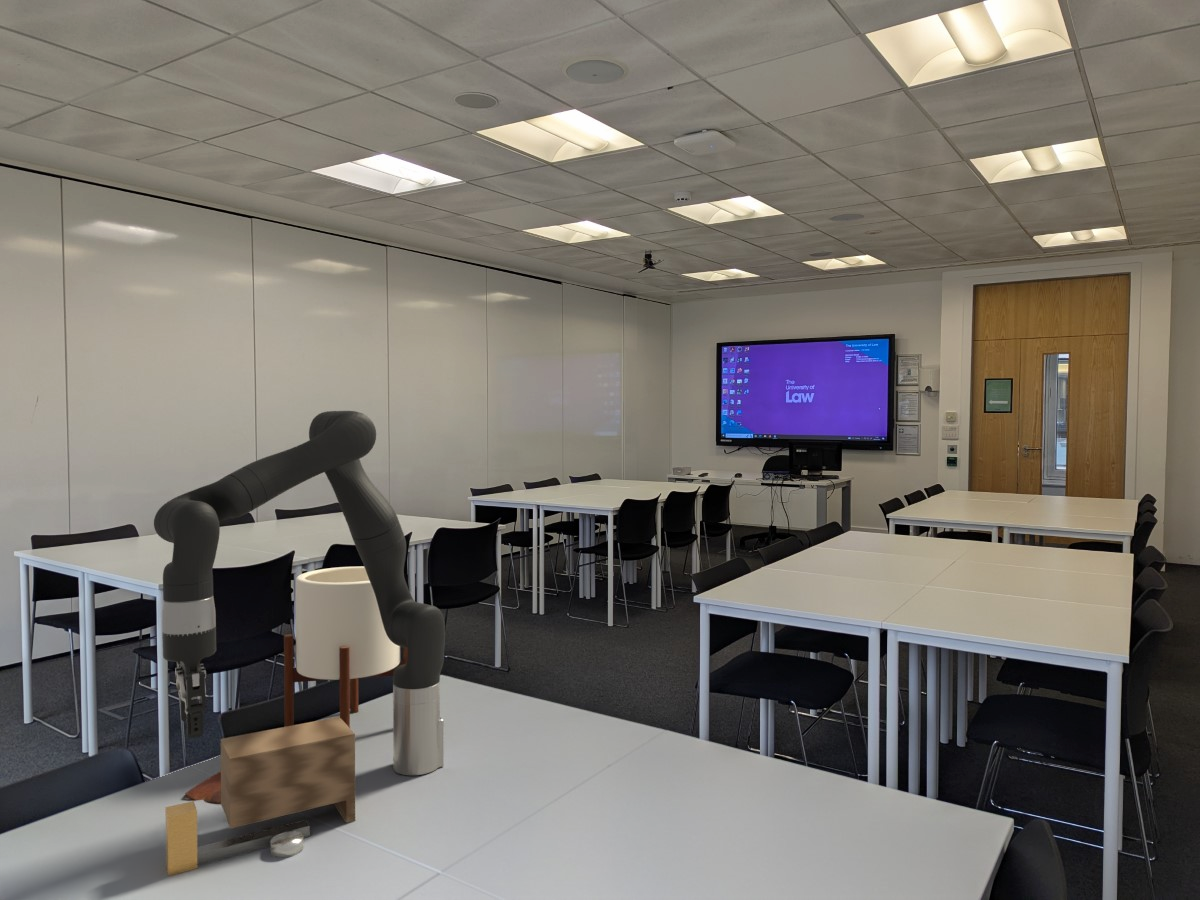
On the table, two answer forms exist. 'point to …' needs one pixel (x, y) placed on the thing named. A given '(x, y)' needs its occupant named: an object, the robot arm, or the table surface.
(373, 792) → the table surface
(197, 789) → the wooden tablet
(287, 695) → the plant pot with stand
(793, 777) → the table surface
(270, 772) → the walnut cabinet
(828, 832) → the table surface
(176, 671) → the robot arm
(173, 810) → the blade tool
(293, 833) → the steel token
